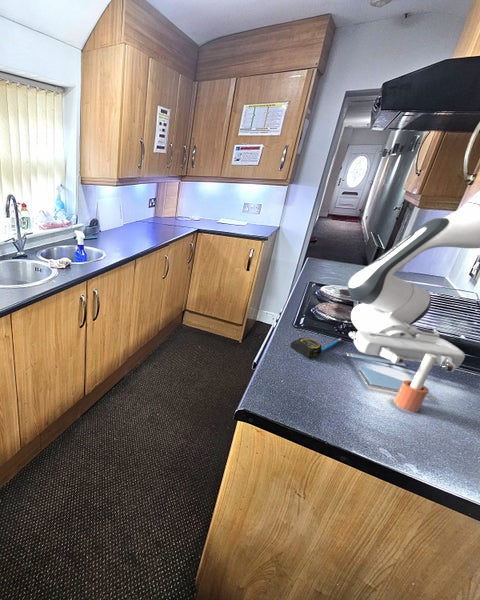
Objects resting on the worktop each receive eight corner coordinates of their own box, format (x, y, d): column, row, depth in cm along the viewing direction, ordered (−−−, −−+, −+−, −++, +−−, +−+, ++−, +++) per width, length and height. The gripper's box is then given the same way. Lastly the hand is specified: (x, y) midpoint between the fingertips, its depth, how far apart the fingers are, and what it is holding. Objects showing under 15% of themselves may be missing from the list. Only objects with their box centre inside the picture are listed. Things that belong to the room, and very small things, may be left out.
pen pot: (412, 403, 80) (422, 383, 77) (421, 415, 76) (433, 394, 73) (390, 398, 81) (399, 378, 79) (398, 409, 77) (408, 389, 75)
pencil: (341, 340, 107) (342, 338, 107) (315, 356, 99) (315, 354, 99) (338, 339, 108) (339, 337, 107) (312, 355, 100) (312, 353, 99)
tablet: (402, 364, 95) (403, 362, 95) (437, 402, 80) (438, 399, 80) (345, 354, 100) (346, 351, 100) (367, 388, 85) (368, 385, 84)
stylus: (409, 404, 79) (434, 354, 73) (413, 408, 77) (439, 358, 72) (399, 402, 79) (424, 352, 74) (403, 406, 78) (428, 356, 72)
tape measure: (287, 349, 102) (290, 339, 101) (305, 344, 104) (307, 334, 102) (307, 362, 96) (309, 351, 95) (325, 356, 98) (328, 346, 96)
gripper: (349, 320, 88) (375, 345, 76) (444, 332, 83) (488, 361, 71) (342, 341, 91) (365, 368, 78) (433, 354, 85) (474, 385, 73)
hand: (424, 365), depth 74 cm, fingers open, 8 cm apart
